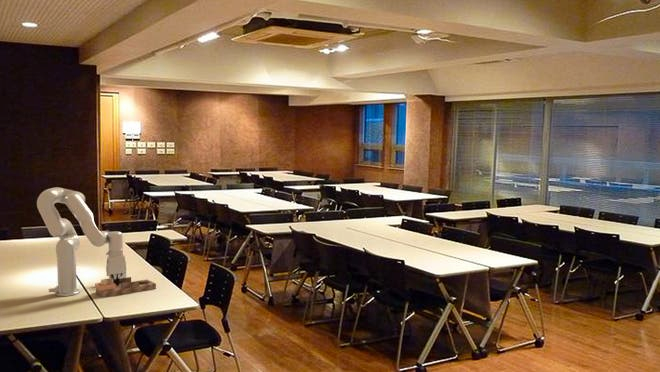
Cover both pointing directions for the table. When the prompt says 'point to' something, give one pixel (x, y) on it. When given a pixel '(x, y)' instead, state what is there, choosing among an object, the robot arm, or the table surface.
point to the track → (128, 287)
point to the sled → (106, 287)
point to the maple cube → (106, 282)
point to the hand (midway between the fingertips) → (116, 285)
